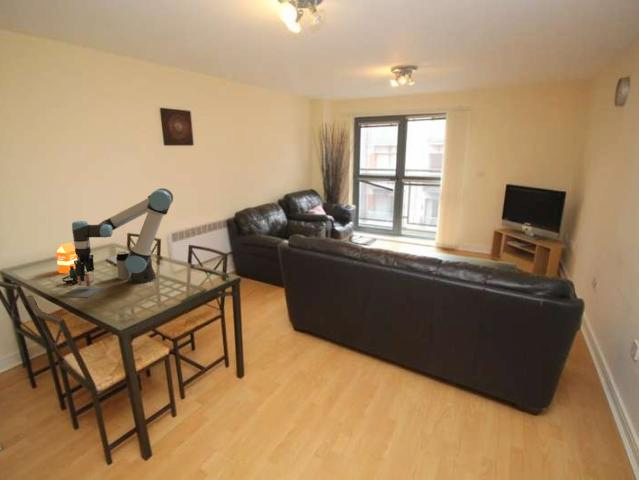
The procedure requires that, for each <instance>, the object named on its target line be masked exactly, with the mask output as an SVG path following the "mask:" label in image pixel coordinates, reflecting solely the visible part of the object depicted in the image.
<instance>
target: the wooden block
mask: <svg viewBox="0 0 639 480" xmlns="http://www.w3.org/2000/svg"><path fill="white" fill-rule="evenodd" d="M84 276H86V282H87V286H86V287H93V285H95V278H94V276H95V275H94V271H93V272H89V271H87V270H85V275H84ZM77 282H78V283H77V285H78V287H83V286H82V285H81V280H80V276H78V281H77Z"/></svg>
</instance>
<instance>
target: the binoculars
mask: <svg viewBox="0 0 639 480" xmlns="http://www.w3.org/2000/svg"><path fill="white" fill-rule="evenodd" d="M68 274H69V275H67V276H65V277H62V282H64V283H65V284H66V285H72V286H74V285H78V276H77V274H76V268H75V269H74V266H70V270H69V273H68ZM65 279H67V280H65Z"/></svg>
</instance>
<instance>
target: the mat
mask: <svg viewBox="0 0 639 480" xmlns="http://www.w3.org/2000/svg"><path fill="white" fill-rule="evenodd" d="M104 290H105V287H95V286H77V287H75V288H73V289H72V290H69V291H67V292H66V293H63V294H61V295H60V297H61V298H64V297H66V298H78V297H85V299H88V298H91V297H93V296H94V295H96V294H98V293H99V292H102V291H104ZM92 295H93V296H92Z"/></svg>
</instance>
